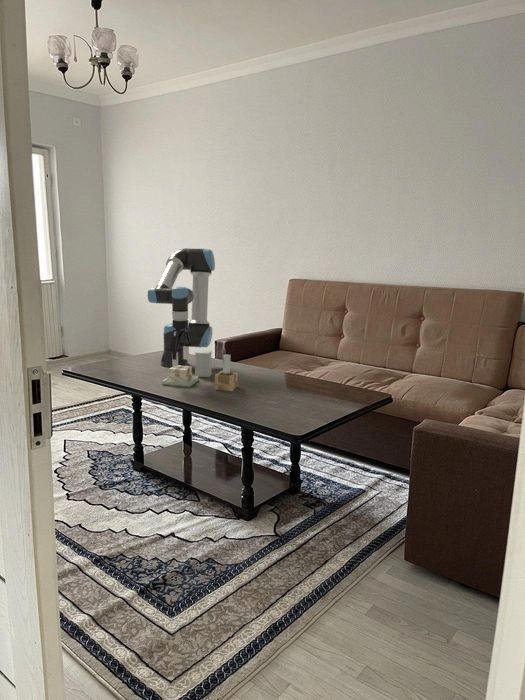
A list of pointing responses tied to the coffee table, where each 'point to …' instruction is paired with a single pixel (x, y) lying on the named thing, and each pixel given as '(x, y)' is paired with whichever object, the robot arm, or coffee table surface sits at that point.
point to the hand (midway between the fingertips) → (180, 362)
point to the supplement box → (203, 363)
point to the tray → (180, 384)
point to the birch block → (180, 373)
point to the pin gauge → (226, 364)
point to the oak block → (226, 381)
